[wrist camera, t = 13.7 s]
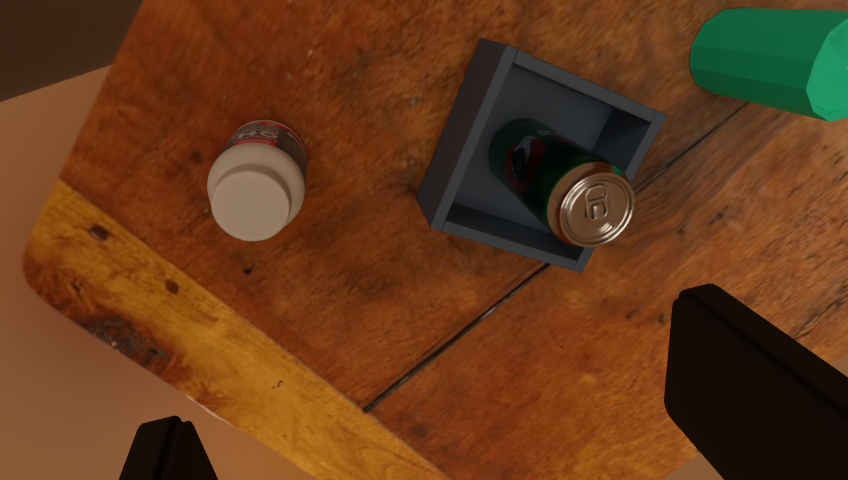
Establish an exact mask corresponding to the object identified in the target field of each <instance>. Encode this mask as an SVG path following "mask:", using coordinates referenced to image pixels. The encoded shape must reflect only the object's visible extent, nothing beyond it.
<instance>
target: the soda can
mask: <svg viewBox="0 0 848 480" xmlns="http://www.w3.org/2000/svg"><path fill="white" fill-rule="evenodd" d="M490 164H491V168H492V171H493V173H494V174H495V176H496V177H497V178H498V179H499V180H500V181H501V182H502V183H503V184H504V185H505V186H506V187H507V188H508V190H509V191H510V192H511V193H512V194H513V195H514V196H515V197H516V198H517V199H518V200H519V201H520V202H521V203H522V204H523V205H524V206H525V207H526V208H527V209H528V210H529V211H530V212H531V213H532V214H533V215H534V216H535V217H536V218H537V219H538V220H539V221H540V222H541V223H542V224H543V225H544V226H545V227H546V228H547V229H548V230H549V231H550V232H551V233H552V234H553V235H554V236H555V237H556V238H557V239H559V240H560V241H562V242H564V243H566V244H570V245H577V246H582V247H597V246H601V245H604V244H606V243H608V242H610V241H612V240H613V239H615V238H616V237H617V236H618V235H620V234H621V233H622V232H623V230H624V229H625V228H626V227H627V225H628V224H629V222H630V220H631V218H632V215H633V212H634V207H635V198H634V193H633V190H632V188H631V186H630V183H629V180H628V178H627V176H626V174H625V173H624V172H623V171H622V169H621V168H619V167H618V166H617V165H615V164H613V163H612V162H610V161H608V160H606V159H605V158H603V157H601V156H599V155H598V154H596V153H594V152H592V151H590V150H589V149H587V148H585V147H583V146H582V145H580V144H578V143H576V142H574V141H573V140H571V139H569V138H567V137H566V136H564V135H562V134H560V133H559V132H557V131H555V130H553V129H551V128H550V127H548V126H546V125H544V124H542V123H541V122H538V121H535V120H520V121H516V122H514V123H512V124H510V125H508V126H507V127H505V128H504V129H503V130H502V131H501V132H500V133H499V134H498V136H497V137H496V139H495V140H494V142H493V145H492V147H491V152H490Z"/></svg>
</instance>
